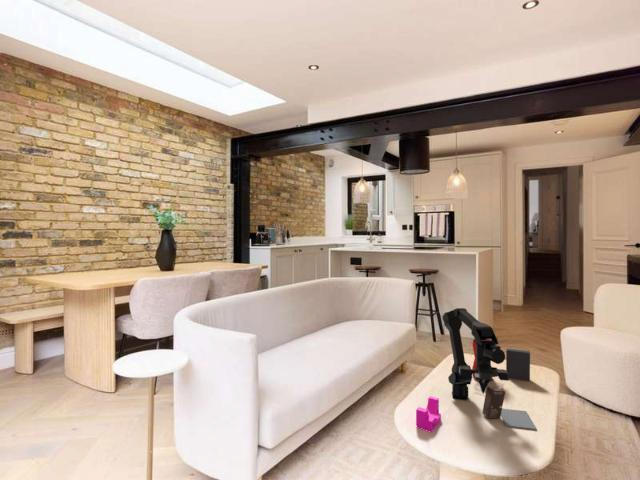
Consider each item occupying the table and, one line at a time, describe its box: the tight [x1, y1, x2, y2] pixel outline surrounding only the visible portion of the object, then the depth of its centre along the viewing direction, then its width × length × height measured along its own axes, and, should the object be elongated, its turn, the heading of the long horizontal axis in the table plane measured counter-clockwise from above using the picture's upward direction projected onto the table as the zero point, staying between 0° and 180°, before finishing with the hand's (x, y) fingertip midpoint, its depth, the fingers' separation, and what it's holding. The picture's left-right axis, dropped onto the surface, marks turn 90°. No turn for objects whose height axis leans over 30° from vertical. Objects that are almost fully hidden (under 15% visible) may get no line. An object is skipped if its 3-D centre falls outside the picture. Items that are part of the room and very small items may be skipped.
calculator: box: [505, 348, 531, 382], centre depth 197 cm, size 11×4×15 cm, turn 63°
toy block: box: [415, 395, 442, 433], centre depth 151 cm, size 15×6×8 cm, turn 143°
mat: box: [500, 408, 538, 431], centre depth 154 cm, size 11×15×1 cm
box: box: [482, 385, 506, 419], centre depth 155 cm, size 6×4×12 cm
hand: (483, 393), depth 156 cm, fingers closed
